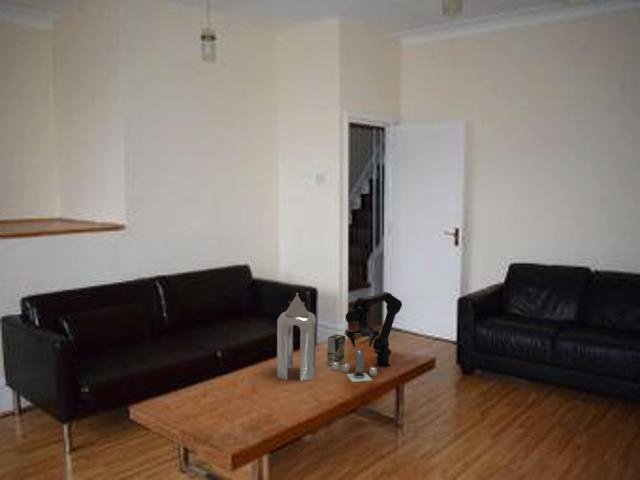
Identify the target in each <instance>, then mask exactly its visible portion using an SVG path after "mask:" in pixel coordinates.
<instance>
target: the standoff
mask: <svg viewBox="0 0 640 480" xmlns="http://www.w3.org/2000/svg"><path fill="white" fill-rule="evenodd" d="M354 351H355V352H354V353H355V354H354V357H355V358H354V373H353V374H354V378H357V379H362V378H364V377H365V375H364V374H363V373H364V350H363V349H355V350H354Z"/></svg>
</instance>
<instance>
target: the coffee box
mask: <svg viewBox="0 0 640 480" xmlns="http://www.w3.org/2000/svg"><path fill="white" fill-rule="evenodd" d="M345 348H346V335H341V334H337V333H336V334H333V335H331V336H328V337H327V355H326V358H327V360H326V365H330V366H332V362H334V361H336V362H339V366H340V365H342V364H343V363H345V361H346V359H345V358H346V357H345V355H346V354H345V352H346V349H345Z"/></svg>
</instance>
